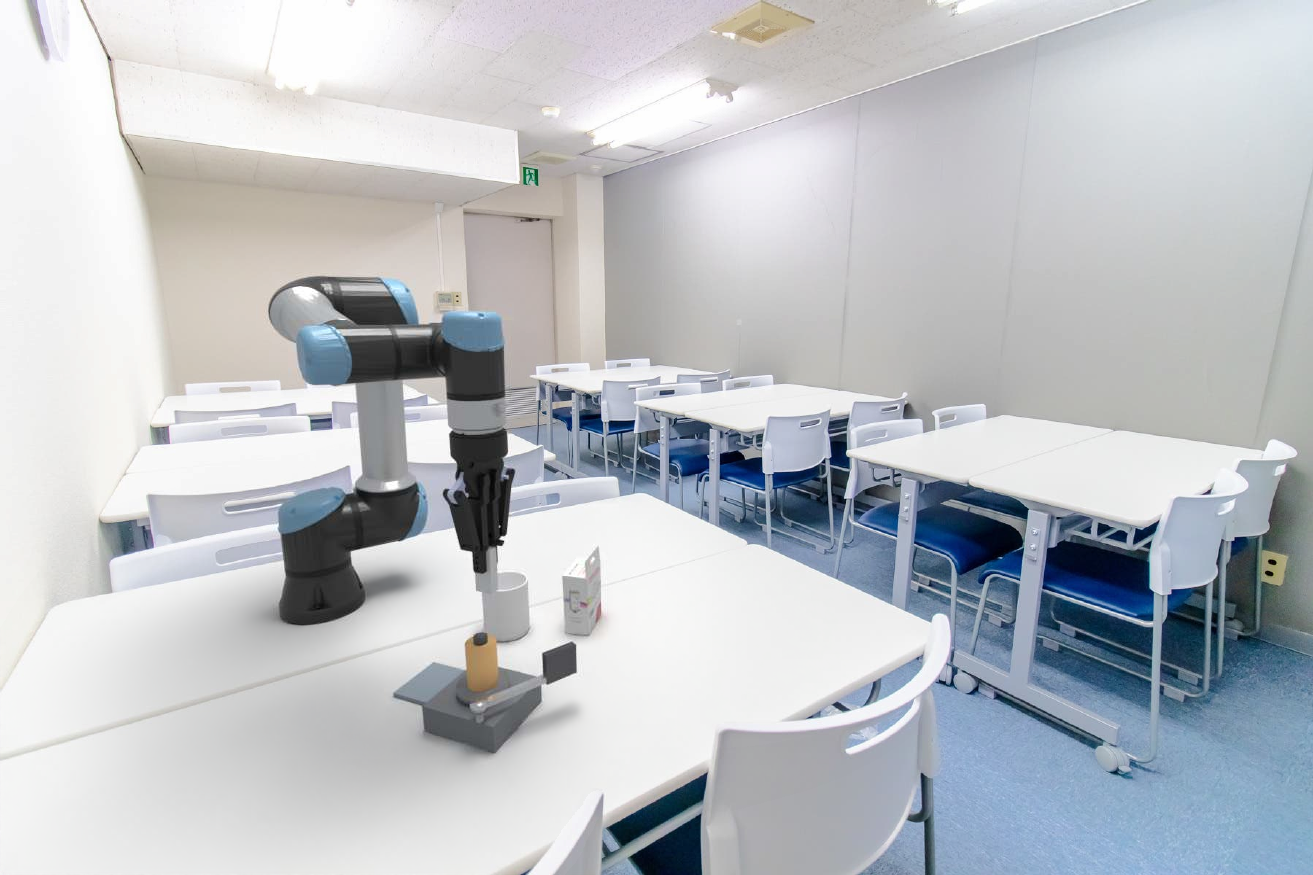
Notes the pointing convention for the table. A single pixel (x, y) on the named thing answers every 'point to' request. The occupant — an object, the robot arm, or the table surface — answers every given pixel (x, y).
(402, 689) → the mat
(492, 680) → the plug
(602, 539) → the table surface
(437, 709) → the socket block
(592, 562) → the ink cartridge box
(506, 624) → the cup
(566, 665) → the grey lever
